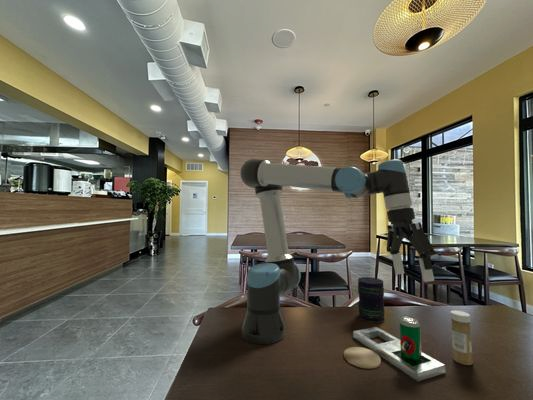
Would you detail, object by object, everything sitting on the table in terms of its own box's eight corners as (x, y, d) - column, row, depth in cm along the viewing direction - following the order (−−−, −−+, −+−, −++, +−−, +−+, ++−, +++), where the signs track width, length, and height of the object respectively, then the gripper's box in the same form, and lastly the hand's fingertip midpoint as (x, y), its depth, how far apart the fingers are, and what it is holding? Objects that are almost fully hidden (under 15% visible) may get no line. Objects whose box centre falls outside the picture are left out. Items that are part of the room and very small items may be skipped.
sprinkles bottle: (477, 364, 69) (474, 315, 70) (464, 366, 68) (461, 316, 69) (460, 355, 73) (458, 309, 74) (448, 357, 72) (446, 310, 73)
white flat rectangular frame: (353, 337, 84) (353, 331, 85) (376, 332, 88) (376, 326, 88) (417, 381, 62) (417, 373, 62) (445, 372, 65) (445, 364, 65)
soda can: (425, 370, 66) (423, 324, 67) (404, 368, 67) (402, 322, 68) (417, 359, 71) (415, 317, 72) (398, 357, 72) (397, 315, 73)
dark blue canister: (389, 322, 96) (388, 283, 97) (364, 322, 96) (363, 283, 97) (378, 312, 106) (377, 277, 107) (355, 312, 106) (354, 277, 107)
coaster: (337, 352, 75) (337, 350, 75) (363, 346, 78) (363, 344, 78) (359, 372, 66) (359, 369, 66) (388, 364, 69) (388, 362, 69)
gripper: (439, 201, 66) (458, 283, 63) (389, 211, 91) (400, 270, 88) (413, 204, 66) (430, 287, 63) (369, 213, 90) (380, 273, 87)
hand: (413, 277), depth 75 cm, fingers open, 13 cm apart
